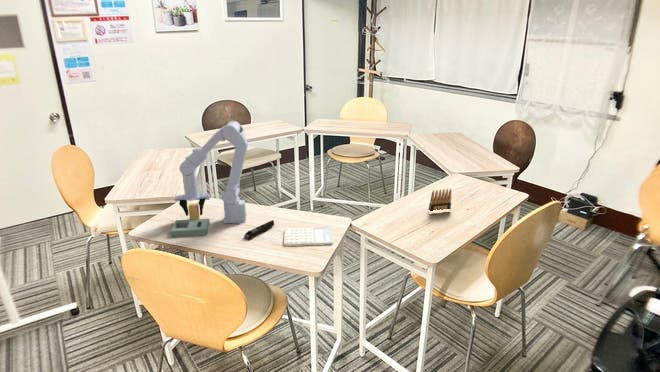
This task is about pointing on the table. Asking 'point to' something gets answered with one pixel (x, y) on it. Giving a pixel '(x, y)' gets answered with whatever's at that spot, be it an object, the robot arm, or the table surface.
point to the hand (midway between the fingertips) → (194, 214)
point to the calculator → (308, 236)
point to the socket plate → (190, 227)
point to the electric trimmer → (258, 230)
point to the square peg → (194, 211)
